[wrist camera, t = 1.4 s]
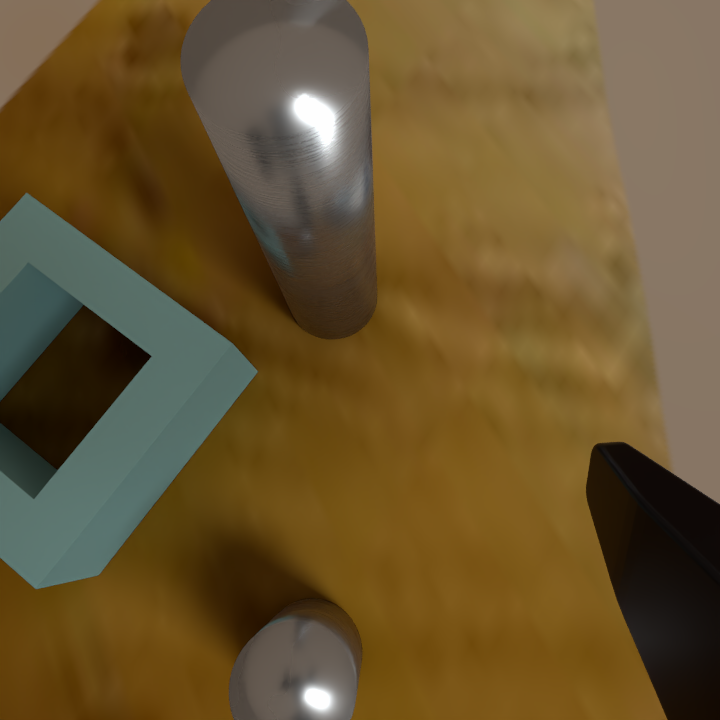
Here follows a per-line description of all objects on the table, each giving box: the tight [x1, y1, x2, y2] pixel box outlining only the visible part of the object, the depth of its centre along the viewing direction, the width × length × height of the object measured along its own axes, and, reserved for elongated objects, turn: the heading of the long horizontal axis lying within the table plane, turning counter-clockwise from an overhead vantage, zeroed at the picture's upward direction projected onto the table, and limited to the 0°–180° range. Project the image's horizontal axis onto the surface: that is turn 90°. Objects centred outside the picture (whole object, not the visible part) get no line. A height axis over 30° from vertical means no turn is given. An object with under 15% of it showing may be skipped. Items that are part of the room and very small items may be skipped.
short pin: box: [229, 598, 362, 720], centre depth 19 cm, size 3×3×4 cm
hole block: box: [0, 193, 258, 589], centre depth 21 cm, size 9×9×4 cm
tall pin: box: [181, 0, 377, 339], centre depth 17 cm, size 3×3×13 cm
